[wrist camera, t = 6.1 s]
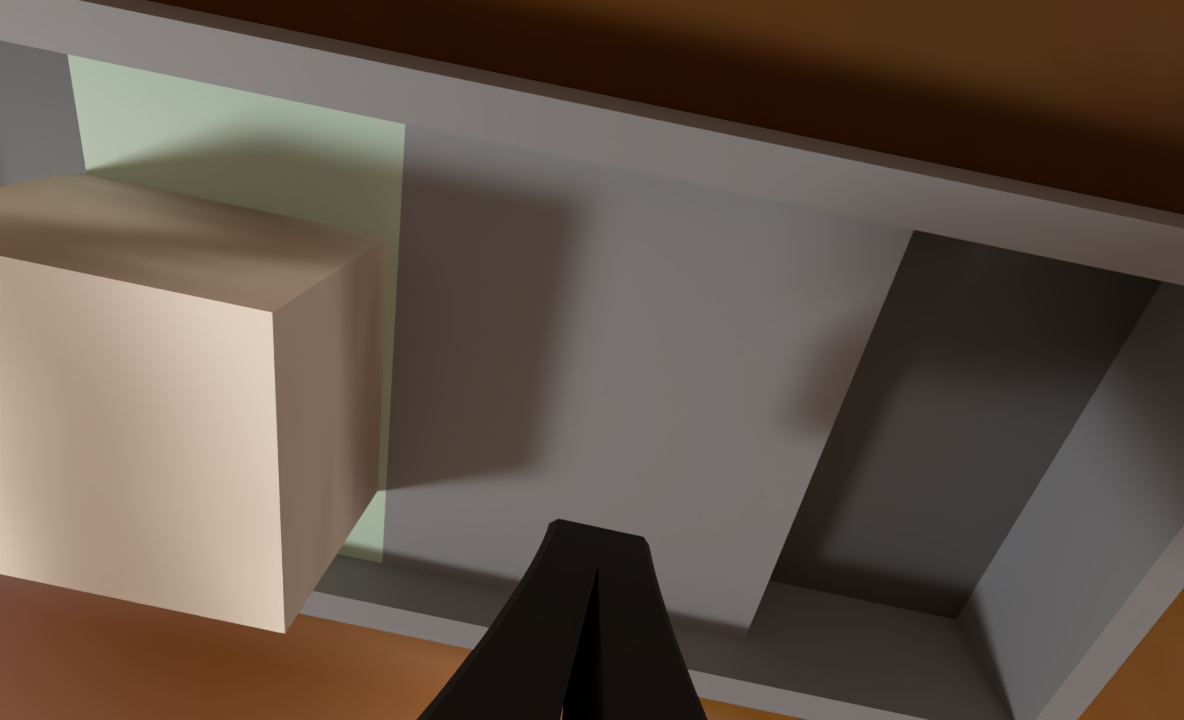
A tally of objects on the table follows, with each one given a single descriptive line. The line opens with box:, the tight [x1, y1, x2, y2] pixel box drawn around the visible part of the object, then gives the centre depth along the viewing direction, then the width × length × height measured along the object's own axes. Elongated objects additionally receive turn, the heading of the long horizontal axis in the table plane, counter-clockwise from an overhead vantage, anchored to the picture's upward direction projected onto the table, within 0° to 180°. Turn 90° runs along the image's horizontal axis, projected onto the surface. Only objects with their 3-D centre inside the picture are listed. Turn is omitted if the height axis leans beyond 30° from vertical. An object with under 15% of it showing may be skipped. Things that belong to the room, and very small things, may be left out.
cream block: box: [0, 172, 389, 633], centre depth 11 cm, size 6×6×4 cm
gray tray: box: [0, 0, 1184, 720], centre depth 14 cm, size 30×12×4 cm, turn 79°
